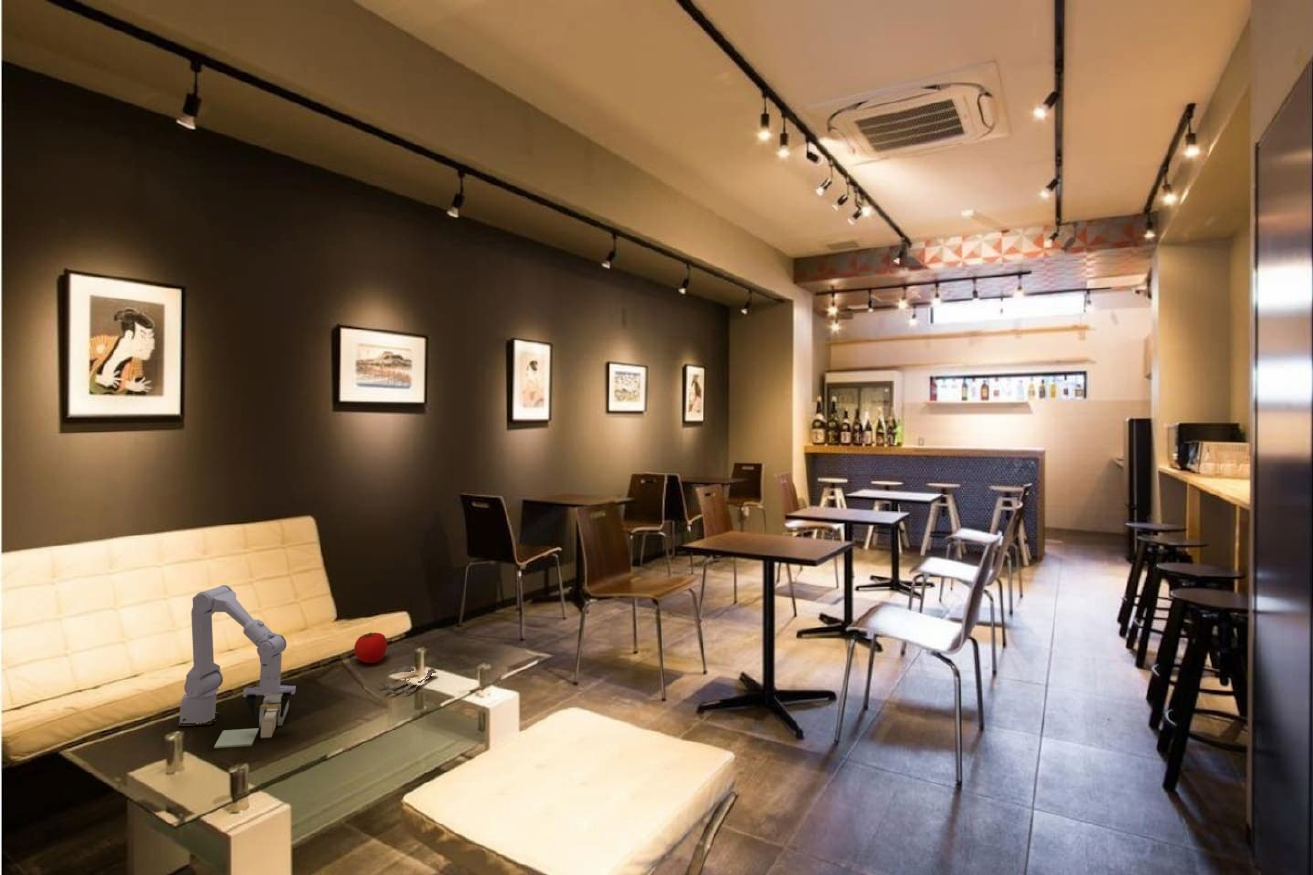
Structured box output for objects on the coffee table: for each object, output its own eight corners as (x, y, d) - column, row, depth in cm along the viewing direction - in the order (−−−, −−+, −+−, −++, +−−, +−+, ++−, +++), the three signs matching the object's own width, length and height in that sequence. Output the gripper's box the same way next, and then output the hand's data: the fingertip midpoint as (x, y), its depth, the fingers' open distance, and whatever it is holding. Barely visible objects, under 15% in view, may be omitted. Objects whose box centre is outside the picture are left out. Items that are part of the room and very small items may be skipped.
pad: (214, 748, 212) (214, 746, 212) (222, 732, 221) (223, 730, 221) (251, 745, 215) (251, 743, 215) (258, 729, 225) (258, 728, 225)
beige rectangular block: (260, 738, 220) (261, 722, 220) (266, 723, 230) (267, 708, 229) (271, 737, 221) (272, 722, 221) (277, 722, 231) (278, 707, 230)
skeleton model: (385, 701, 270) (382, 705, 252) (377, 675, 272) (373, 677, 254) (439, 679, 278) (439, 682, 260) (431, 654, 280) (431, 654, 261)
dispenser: (258, 727, 227) (260, 706, 226) (266, 709, 238) (267, 690, 238) (281, 725, 229) (282, 705, 228) (288, 708, 240) (289, 689, 240)
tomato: (394, 659, 289) (396, 632, 288) (368, 670, 277) (370, 641, 276) (372, 652, 294) (374, 625, 294) (345, 662, 282) (347, 634, 281)
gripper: (241, 681, 216) (239, 724, 216) (293, 678, 220) (291, 720, 221) (246, 672, 222) (244, 713, 223) (297, 669, 227) (295, 710, 228)
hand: (268, 716), depth 223 cm, fingers open, 7 cm apart
